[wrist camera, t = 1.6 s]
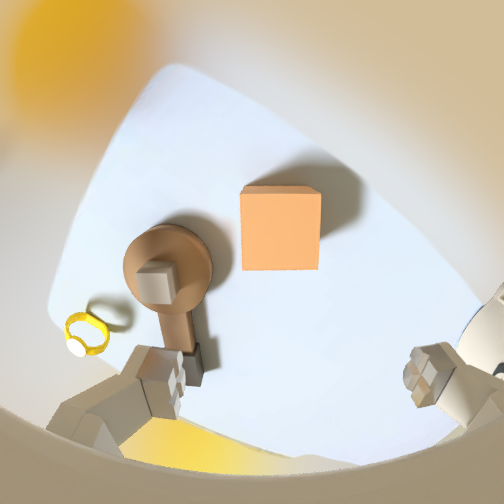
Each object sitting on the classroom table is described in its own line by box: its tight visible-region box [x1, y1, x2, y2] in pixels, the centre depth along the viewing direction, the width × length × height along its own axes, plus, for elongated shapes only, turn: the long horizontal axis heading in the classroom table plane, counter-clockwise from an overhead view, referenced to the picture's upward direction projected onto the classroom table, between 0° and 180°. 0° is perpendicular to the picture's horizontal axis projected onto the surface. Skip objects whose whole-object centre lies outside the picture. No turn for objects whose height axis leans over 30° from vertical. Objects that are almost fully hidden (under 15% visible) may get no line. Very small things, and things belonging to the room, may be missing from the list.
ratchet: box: [123, 224, 213, 387], centre depth 28 cm, size 9×20×6 cm, turn 1°
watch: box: [65, 312, 110, 357], centre depth 29 cm, size 6×3×6 cm, turn 58°
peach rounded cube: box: [240, 186, 321, 270], centre depth 24 cm, size 6×6×6 cm
